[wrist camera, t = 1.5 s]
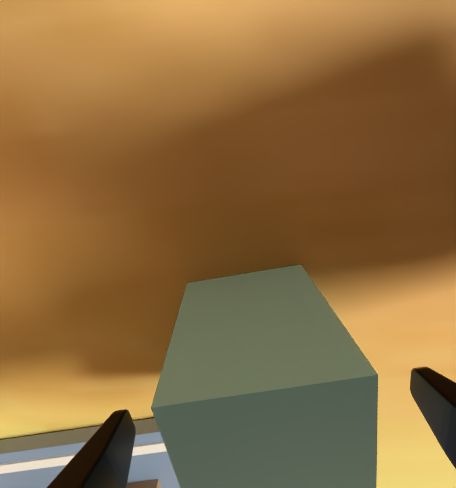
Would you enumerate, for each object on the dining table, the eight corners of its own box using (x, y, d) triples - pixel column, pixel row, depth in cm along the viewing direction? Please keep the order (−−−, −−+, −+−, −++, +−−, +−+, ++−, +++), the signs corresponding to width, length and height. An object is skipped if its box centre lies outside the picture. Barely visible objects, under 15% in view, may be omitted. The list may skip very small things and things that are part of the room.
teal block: (300, 263, 11) (377, 374, 6) (309, 355, 13) (376, 514, 7) (187, 282, 12) (150, 407, 6) (209, 371, 13) (198, 536, 7)
